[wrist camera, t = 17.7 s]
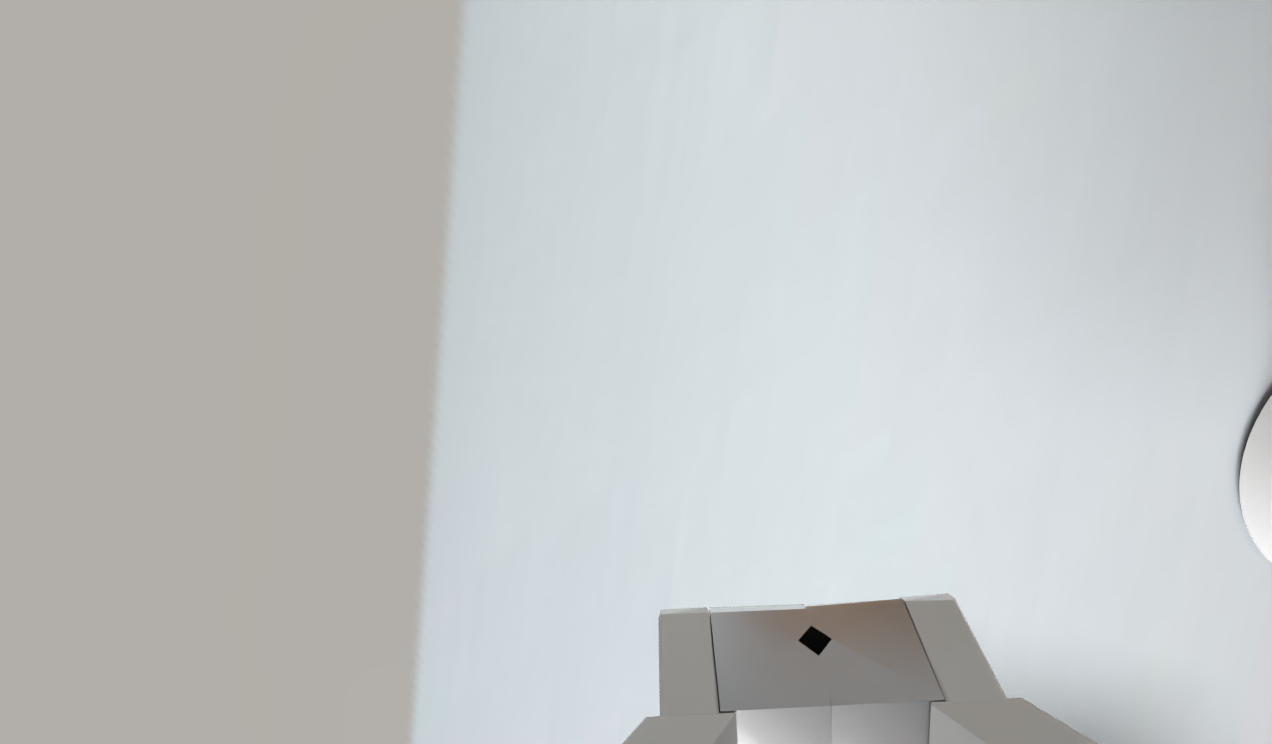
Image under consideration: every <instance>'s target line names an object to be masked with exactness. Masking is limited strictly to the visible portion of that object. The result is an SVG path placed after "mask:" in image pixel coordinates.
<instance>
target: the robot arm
mask: <svg viewBox="0 0 1272 744" xmlns="http://www.w3.org/2000/svg"><path fill="white" fill-rule="evenodd" d="M1239 492H1240V503H1241V509H1242V514H1243V518H1244V521H1245V524H1246V527H1247V529H1248V531H1249V533H1250V535H1251V537H1252V539H1253V541H1254V543H1255V544H1256V546H1257V547H1258V549H1259V550H1260V551H1261V553H1262V554H1263V555H1264V556H1265V557H1266V558H1267V559H1268V560H1269V561H1270V562H1271V563H1272V395H1271V397H1270V398H1269V399H1268V401H1267V403H1266V404H1265V406H1264V407H1263V409H1262V411H1261V413H1260V414H1259V416H1258V418H1257V420H1256V422H1255V424H1254V426H1253V429H1252V431H1251V433H1250V436H1249V439H1248V441H1247V444H1246V448H1245V451H1244V455H1243V459H1242V464H1241V471H1240V482H1239ZM709 615H710V616H709ZM659 683H660V716H656V717H646V718H645V719H644V720H643V721H642V722H641V723H640V724H639V725H638V727H637V728H636V729H635V730H634V731H633V732H632V733H631V734H630V736H629V737H628V738H627V739H626V740H625V741H624V742H623V743H622V744H1096V743H1095V742H1093V741H1091V740H1090V739H1088V738H1086V737H1085V736H1083V735H1082V734H1080V733H1078V732H1077V731H1075V730H1073V729H1072V728H1070V727H1068V726H1067V725H1065V724H1064V723H1062V722H1060V721H1059V720H1057V719H1055V718H1054V717H1052V716H1051V715H1049V714H1047V713H1046V712H1044V711H1042V710H1041V709H1039V708H1037V707H1036V706H1034V705H1033V704H1031V703H1029V702H1028V701H1026V700H1024V699H1023V698H1011V699H1007V698H1006V696H1005V694H1004V692H1003V690H1002V688H1001V686H1000V684H999V682H998V680H997V678H996V677H995V675H994V673H993V671H992V669H991V667H990V665H989V663H988V661H987V659H986V657H985V655H984V653H983V652H982V650H981V648H980V646H979V644H978V642H977V640H976V638H975V636H974V634H973V632H972V630H971V628H970V626H969V625H968V623H967V621H966V619H965V617H964V615H963V613H962V611H961V609H960V607H959V605H958V603H957V601H956V600H955V598H954V597H952V596H951V595H949V594H937V595H925V596H914V597H902V598H899V599H893V600H878V601H863V602H847V603H832V604H817V605H804V604H798V605H768V606H739V607H709V611H708V610H707V608H689V609H671V610H661V611H660V614H659Z"/></svg>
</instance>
